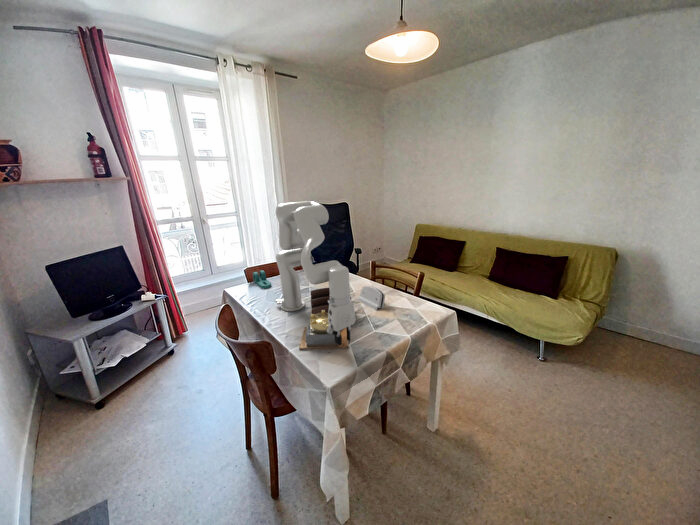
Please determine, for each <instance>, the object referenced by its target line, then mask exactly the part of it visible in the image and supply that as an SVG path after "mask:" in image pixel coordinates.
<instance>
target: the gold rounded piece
mask: <svg viewBox="0 0 700 525" xmlns="http://www.w3.org/2000/svg"><path fill="white" fill-rule="evenodd" d="M309 321H310V328H311V329H312V330H313V331H315V332H319V333H325V332H327V329H328V326H329V323H328V312H325V310H321V313H317V314H310V315H309ZM332 330H333V328H332ZM336 332H337V331H336ZM340 336H341V342H342V344H341V345H338V346H339V347H341V348H340V349H345V348H344V347H347V345H348V343H347V327H346V328H344V329H342V330H340Z"/></svg>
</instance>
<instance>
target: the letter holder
mask: <svg viewBox="0 0 700 525" xmlns="http://www.w3.org/2000/svg"><path fill="white" fill-rule="evenodd" d="M329 299H330V291H329V287H324V288H316V289H313V290H311V291H310V307H311V308H310V309H311V310H310V313H311V314H317V313H321V310H325V312H328V310H329V303H328V300H329ZM350 299H351V300H352V297H351V296H350ZM311 314H310V315H311Z"/></svg>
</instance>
